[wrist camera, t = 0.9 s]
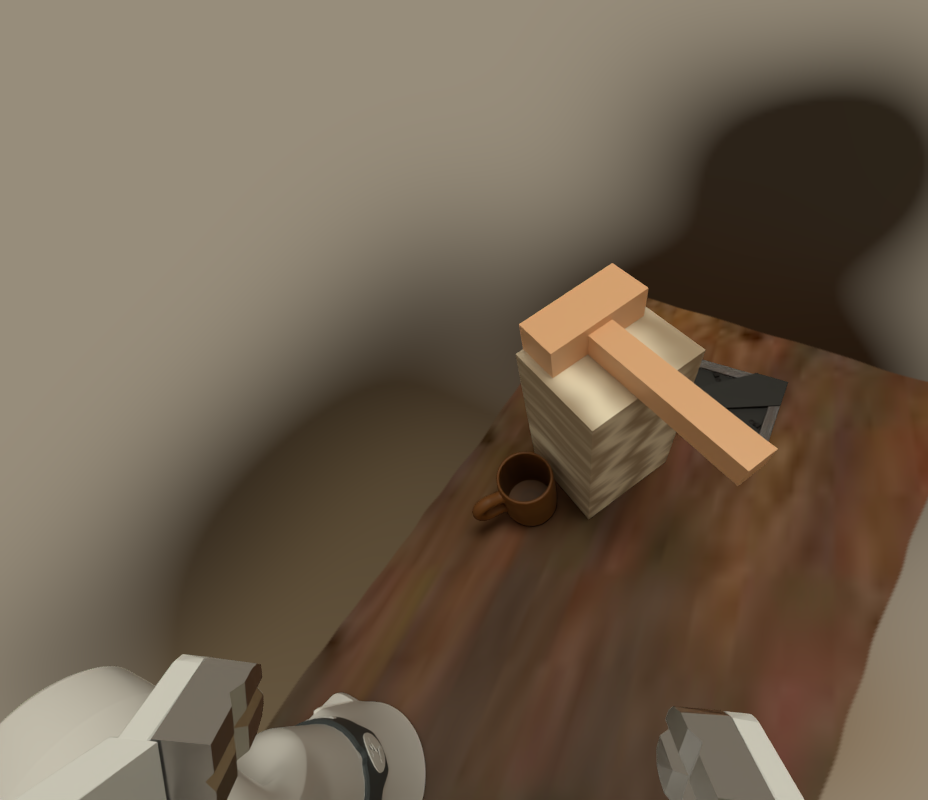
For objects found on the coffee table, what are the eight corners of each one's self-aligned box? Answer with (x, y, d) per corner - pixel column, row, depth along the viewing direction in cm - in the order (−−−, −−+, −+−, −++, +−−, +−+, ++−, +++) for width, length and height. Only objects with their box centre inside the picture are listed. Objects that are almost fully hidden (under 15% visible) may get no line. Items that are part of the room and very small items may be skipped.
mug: (496, 555, 64) (484, 535, 57) (470, 510, 69) (455, 486, 61) (568, 509, 66) (566, 484, 58) (538, 468, 70) (532, 439, 62)
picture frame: (783, 389, 69) (659, 353, 77) (788, 382, 67) (661, 346, 75) (759, 463, 64) (629, 417, 72) (763, 457, 62) (630, 411, 70)
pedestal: (588, 519, 64) (592, 431, 43) (535, 457, 71) (515, 354, 49) (665, 461, 66) (705, 350, 45) (606, 406, 73) (617, 286, 51)
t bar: (696, 518, 37) (707, 501, 34) (523, 349, 50) (518, 324, 46) (804, 434, 39) (824, 409, 35) (610, 290, 51) (612, 263, 48)
